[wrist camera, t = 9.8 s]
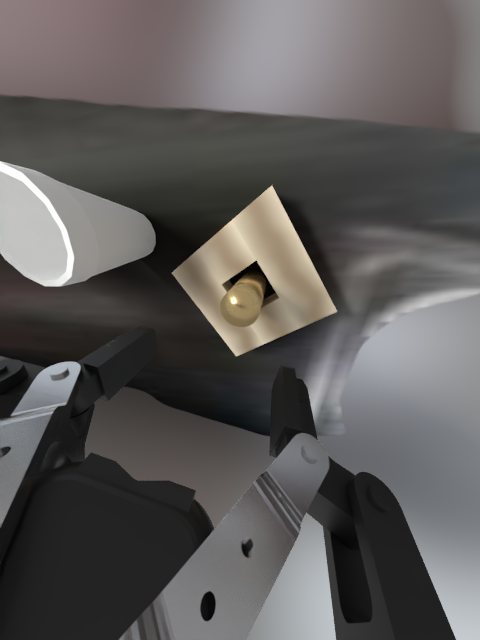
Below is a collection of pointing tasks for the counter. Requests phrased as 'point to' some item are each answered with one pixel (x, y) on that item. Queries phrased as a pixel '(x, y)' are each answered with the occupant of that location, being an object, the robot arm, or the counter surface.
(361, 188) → the counter surface
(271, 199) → the plate
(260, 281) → the brass cylinder
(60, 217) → the foam cup
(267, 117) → the counter surface
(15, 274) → the counter surface
